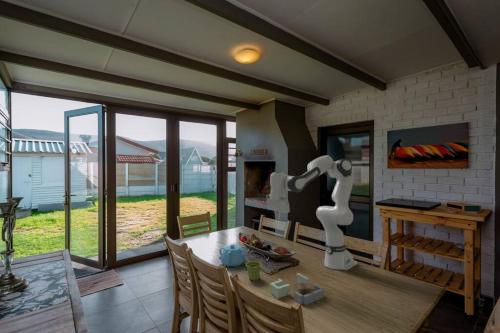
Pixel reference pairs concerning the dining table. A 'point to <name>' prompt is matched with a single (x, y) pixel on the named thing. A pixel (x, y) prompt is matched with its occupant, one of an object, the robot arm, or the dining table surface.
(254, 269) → the plant pot
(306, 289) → the block
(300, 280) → the pale grey notched piece
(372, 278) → the dining table surface
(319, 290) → the dock
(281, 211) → the robot arm
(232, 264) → the decorative pot
